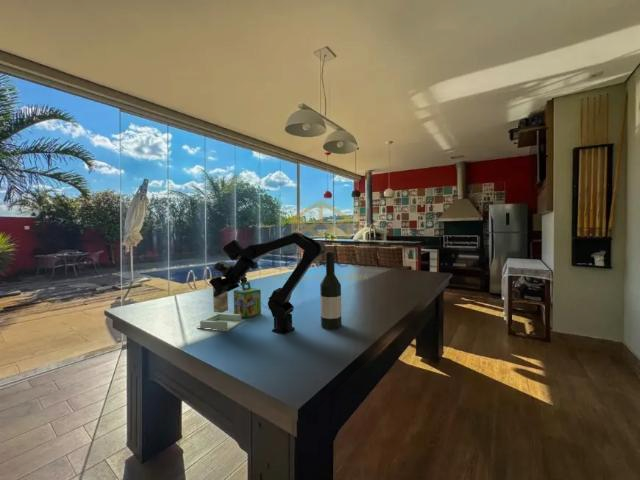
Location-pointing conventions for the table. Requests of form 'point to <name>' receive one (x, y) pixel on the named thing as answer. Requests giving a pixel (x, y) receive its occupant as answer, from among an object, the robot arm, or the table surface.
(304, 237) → the robot arm
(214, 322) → the tray
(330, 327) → the wine bottle
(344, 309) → the table surface
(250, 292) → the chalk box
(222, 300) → the post
